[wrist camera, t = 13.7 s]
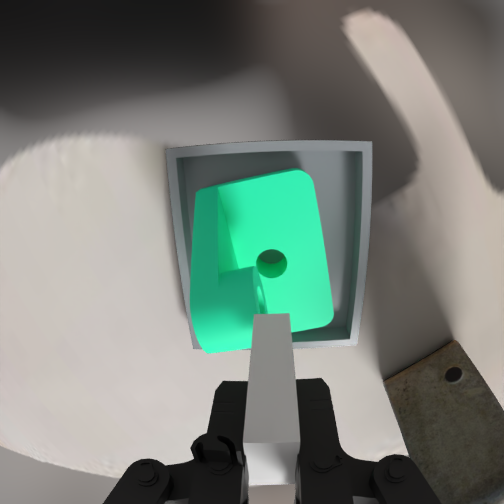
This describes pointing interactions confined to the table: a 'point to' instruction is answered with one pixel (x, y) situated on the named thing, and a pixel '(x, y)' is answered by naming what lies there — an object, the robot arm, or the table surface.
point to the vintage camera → (451, 426)
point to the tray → (329, 205)
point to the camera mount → (257, 258)
